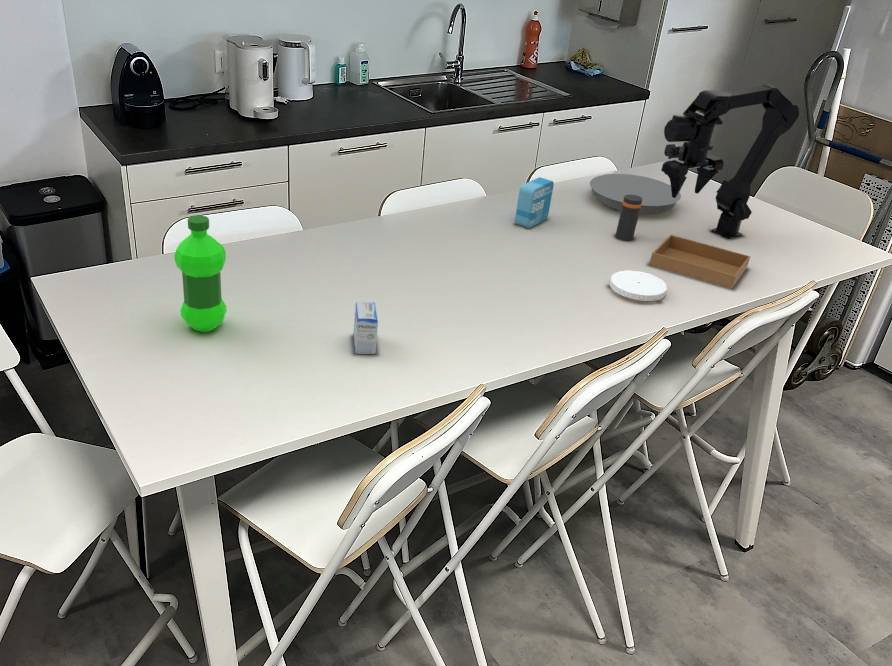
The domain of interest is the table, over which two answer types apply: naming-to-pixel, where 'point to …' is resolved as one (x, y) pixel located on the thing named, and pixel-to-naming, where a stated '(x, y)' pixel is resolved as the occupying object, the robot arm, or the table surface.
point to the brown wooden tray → (700, 261)
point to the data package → (534, 202)
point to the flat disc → (633, 191)
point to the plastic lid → (638, 285)
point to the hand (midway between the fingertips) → (685, 195)
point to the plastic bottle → (201, 276)
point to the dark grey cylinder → (628, 217)
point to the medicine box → (365, 328)
